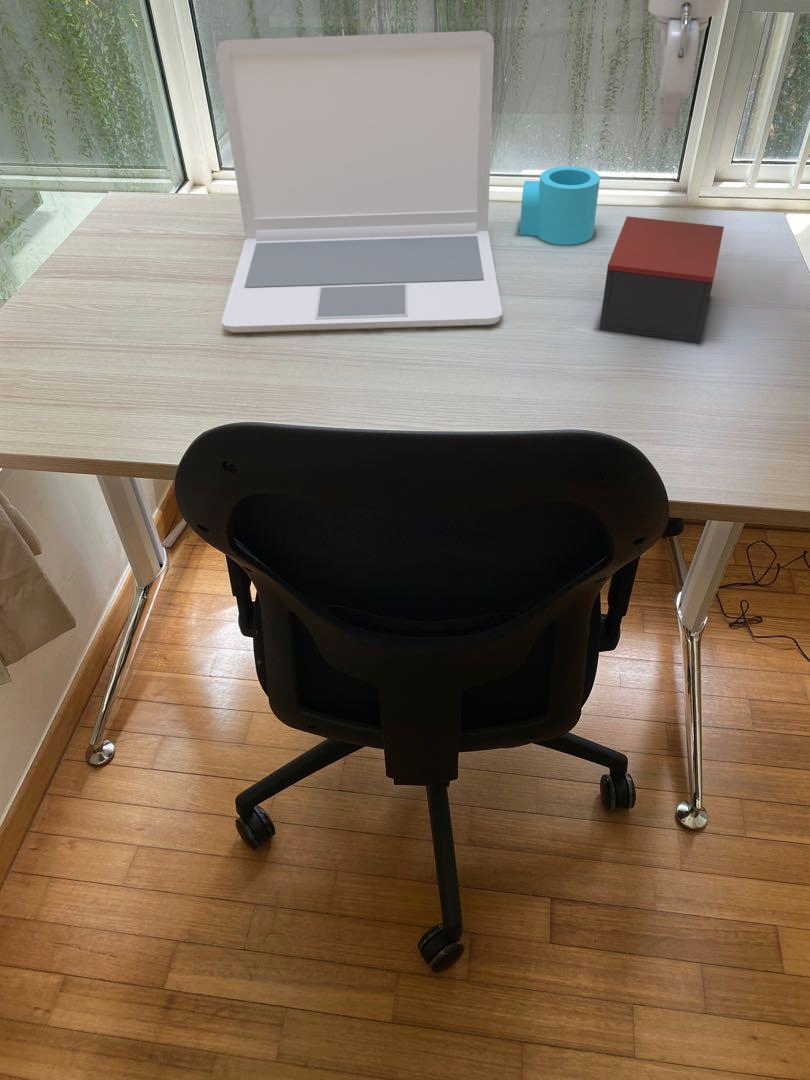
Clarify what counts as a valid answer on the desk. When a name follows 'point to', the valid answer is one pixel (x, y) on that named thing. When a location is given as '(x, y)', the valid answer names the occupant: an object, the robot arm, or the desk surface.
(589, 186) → the cup
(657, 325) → the dark grey box
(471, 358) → the desk surface
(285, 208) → the laptop
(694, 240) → the lid
